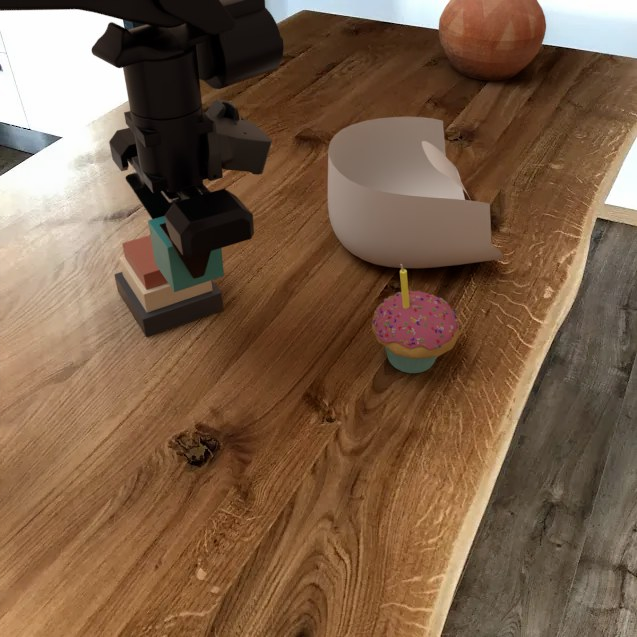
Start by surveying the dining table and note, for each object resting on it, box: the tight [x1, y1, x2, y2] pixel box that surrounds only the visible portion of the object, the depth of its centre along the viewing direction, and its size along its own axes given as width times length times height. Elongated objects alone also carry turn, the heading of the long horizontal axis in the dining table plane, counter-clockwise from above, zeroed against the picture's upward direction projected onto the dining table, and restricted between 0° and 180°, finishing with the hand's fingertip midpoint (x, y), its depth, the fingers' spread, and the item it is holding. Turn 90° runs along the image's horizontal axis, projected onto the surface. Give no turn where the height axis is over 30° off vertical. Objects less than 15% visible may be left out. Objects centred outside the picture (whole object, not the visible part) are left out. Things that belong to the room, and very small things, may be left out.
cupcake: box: [371, 264, 460, 374], centre depth 71 cm, size 9×8×12 cm
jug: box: [438, 0, 547, 82], centre depth 127 cm, size 18×18×20 cm
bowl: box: [327, 116, 504, 269], centre depth 88 cm, size 20×19×12 cm
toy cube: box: [147, 216, 225, 292], centre depth 68 cm, size 5×5×5 cm
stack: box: [114, 234, 224, 338], centre depth 80 cm, size 9×9×7 cm
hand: (187, 261), depth 69 cm, fingers closed on toy cube, 5 cm apart
